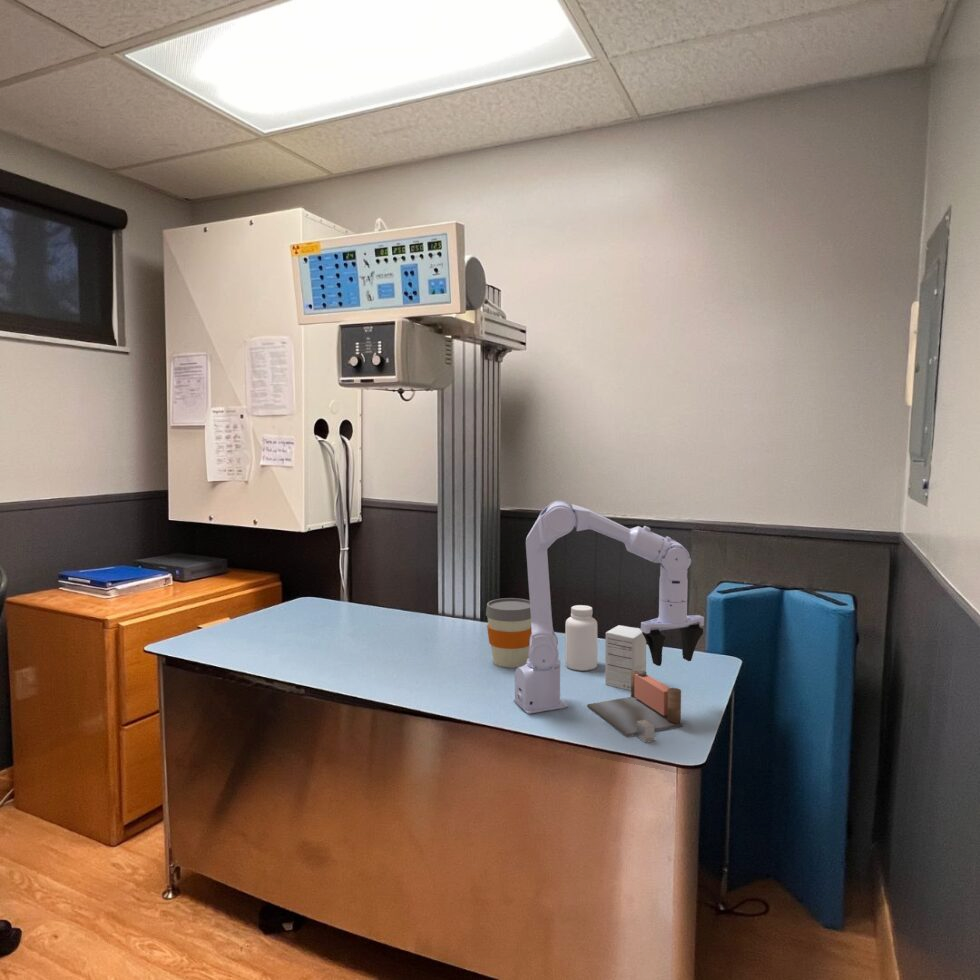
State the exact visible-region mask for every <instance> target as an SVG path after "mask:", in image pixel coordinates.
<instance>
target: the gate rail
mask: <svg viewBox="0 0 980 980" xmlns="http://www.w3.org/2000/svg"><path fill="white" fill-rule="evenodd" d="M669 688H670V686H668V685H666V684H664V683H663V682H661V681H659V680H657V679H655V678H654V677H652V676H650V675H648V674H647V670H646V671H638V674H635V681H634V697H636V698H637V699H639V700H640V701H642V702H643V703H645V704H646V705H648V706H650V707H651V708H653V709H654V710H656V711H657V712H659V713H660V714H662V715H663V716H665V715H667V706H668V689H669Z"/></svg>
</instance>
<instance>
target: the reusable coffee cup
mask: <svg viewBox="0 0 980 980" xmlns="http://www.w3.org/2000/svg"><path fill="white" fill-rule="evenodd" d="M485 616H486V617H487V623H488V624H487V626H486V627H487V636H488V643H489V644H490V646H491V647H490V648H491V653H492V661H493V663H494V664H495V665H496V666H499V667H501V668H502V667H503V668H518V667H521V666H524V665H525V664H527V659H529V655H528V653H529V648H530V644H529V640H530V636H531V634H532V628H531V611H530V599H525V598H519V597H518V598H516V597H515V598H514V597H507V598H505V597H504V598H497V599H493V600H489V601H488V602H487V603H486V610H485Z"/></svg>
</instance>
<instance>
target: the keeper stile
mask: <svg viewBox="0 0 980 980" xmlns="http://www.w3.org/2000/svg"><path fill="white" fill-rule="evenodd" d="M636 737H637V738H639V740H641V741H642V742H644V743H645V744H647V743H650V742H655V732H654V725H653V724H651V723H650V722H648V721H647V720H641V721H637V735H636Z"/></svg>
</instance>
